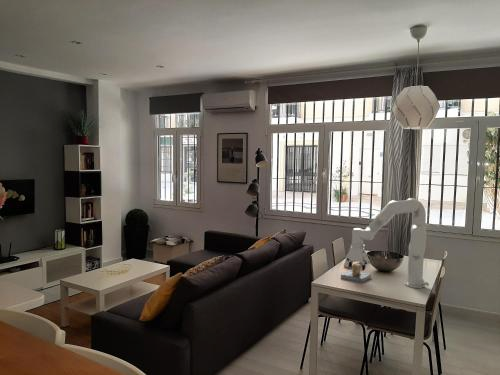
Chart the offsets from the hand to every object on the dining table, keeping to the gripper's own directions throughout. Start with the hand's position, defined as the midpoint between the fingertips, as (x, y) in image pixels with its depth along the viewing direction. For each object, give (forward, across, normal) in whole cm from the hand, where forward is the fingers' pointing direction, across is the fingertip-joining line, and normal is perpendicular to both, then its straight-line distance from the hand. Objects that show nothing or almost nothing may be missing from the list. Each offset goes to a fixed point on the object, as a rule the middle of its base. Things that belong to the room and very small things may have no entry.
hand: (356, 269), depth 280 cm
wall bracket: (+7, +15, -38) cm, 42 cm away
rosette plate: (+7, 0, 0) cm, 7 cm away
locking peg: (+7, 0, 0) cm, 7 cm away
